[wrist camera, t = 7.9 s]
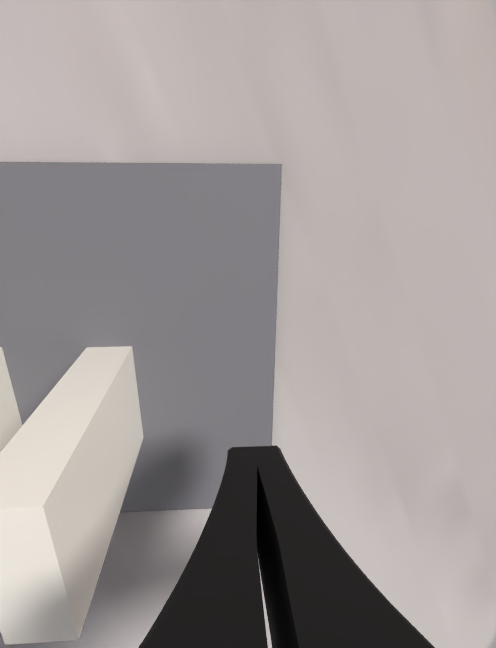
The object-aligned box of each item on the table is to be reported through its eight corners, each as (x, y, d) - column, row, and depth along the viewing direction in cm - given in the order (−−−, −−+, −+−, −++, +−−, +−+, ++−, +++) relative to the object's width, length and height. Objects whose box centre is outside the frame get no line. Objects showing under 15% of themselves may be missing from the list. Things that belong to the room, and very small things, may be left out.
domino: (143, 437, 15) (79, 639, 8) (102, 438, 15) (5, 644, 8) (132, 346, 13) (42, 506, 7) (86, 347, 13) (-47, 510, 7)
